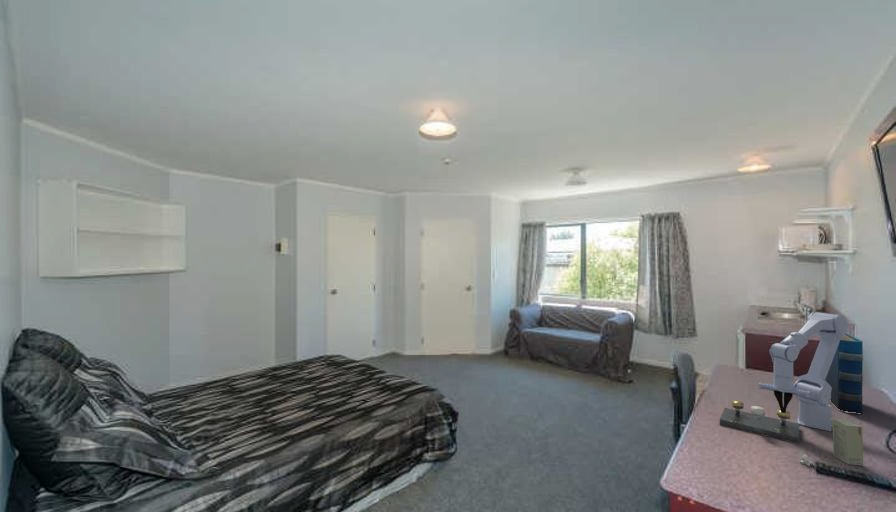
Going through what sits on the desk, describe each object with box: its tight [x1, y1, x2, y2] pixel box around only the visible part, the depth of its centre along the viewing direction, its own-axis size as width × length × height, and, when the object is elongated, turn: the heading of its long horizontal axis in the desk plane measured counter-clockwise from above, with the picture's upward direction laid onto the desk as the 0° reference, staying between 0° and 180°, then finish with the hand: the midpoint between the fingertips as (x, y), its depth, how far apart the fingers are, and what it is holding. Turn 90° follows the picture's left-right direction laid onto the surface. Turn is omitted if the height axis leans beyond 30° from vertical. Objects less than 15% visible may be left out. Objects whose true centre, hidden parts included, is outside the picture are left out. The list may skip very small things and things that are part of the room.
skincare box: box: [832, 417, 864, 466], centre depth 125 cm, size 6×4×12 cm
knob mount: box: [719, 407, 800, 444], centre depth 149 cm, size 23×15×2 cm, turn 48°
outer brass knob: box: [730, 399, 745, 413], centre depth 157 cm, size 4×4×4 cm
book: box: [825, 332, 864, 413], centre depth 170 cm, size 24×9×30 cm, turn 148°
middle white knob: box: [750, 405, 766, 420], centre depth 146 cm, size 4×4×4 cm
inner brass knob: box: [775, 408, 791, 424], centre depth 148 cm, size 4×4×4 cm
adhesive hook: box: [800, 454, 814, 467], centre depth 123 cm, size 3×3×3 cm
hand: (783, 411), depth 148 cm, fingers closed, pressing on inner brass knob
